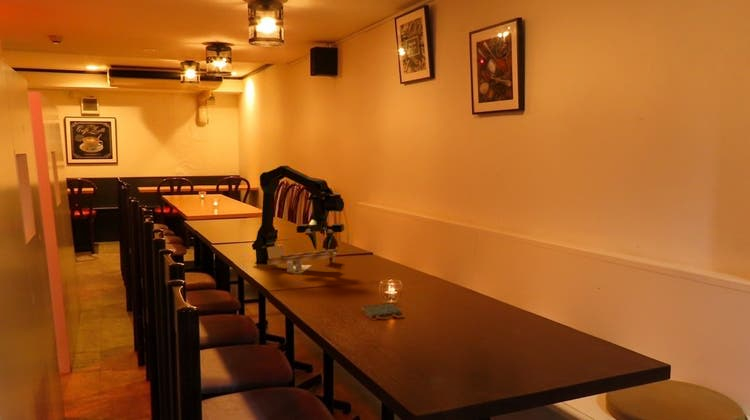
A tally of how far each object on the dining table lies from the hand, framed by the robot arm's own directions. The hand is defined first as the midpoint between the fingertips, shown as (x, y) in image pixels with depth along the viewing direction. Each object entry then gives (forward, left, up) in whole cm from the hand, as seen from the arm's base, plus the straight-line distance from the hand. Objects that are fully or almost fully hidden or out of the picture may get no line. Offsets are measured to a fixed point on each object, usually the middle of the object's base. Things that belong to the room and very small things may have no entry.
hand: (321, 249), depth 239 cm
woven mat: (+34, -59, -10) cm, 69 cm away
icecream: (-1, +18, -9) cm, 20 cm away
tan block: (-19, 0, -4) cm, 20 cm away
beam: (-12, 0, -5) cm, 13 cm away
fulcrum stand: (-12, 0, -9) cm, 15 cm away
